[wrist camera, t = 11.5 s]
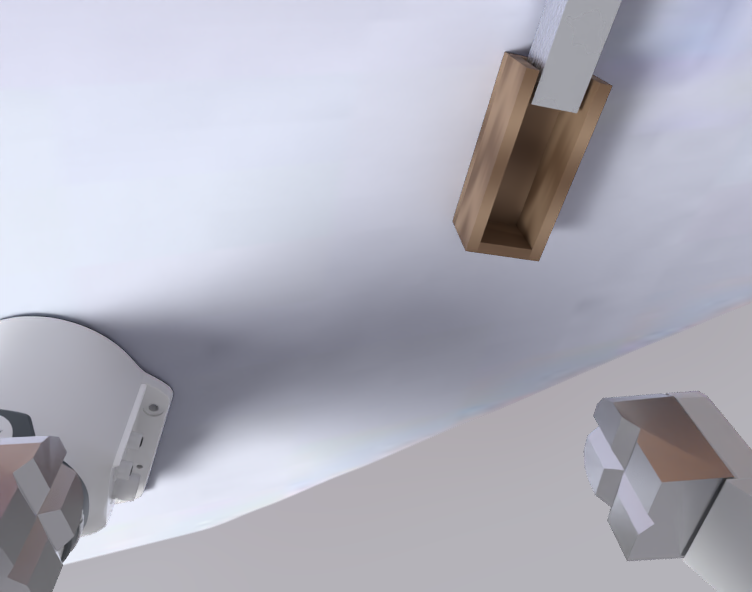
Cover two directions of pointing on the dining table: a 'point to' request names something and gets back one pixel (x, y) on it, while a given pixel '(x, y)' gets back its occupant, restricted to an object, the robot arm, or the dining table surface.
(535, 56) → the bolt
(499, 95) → the open wooden box
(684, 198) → the dining table surface
